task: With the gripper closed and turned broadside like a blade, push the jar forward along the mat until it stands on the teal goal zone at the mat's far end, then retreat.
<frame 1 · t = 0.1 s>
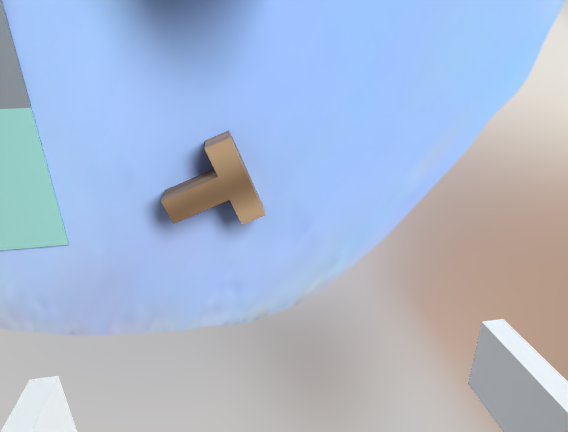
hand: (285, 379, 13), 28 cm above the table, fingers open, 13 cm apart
t block: (208, 184, 39), on the table
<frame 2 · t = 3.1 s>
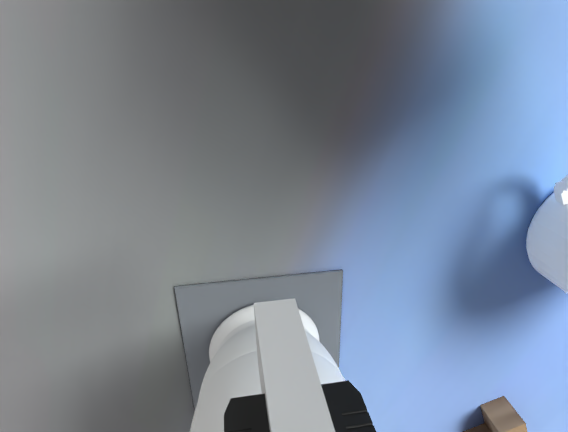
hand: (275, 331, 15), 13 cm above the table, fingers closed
jar: (264, 343, 31), resting on mat
mat: (267, 407, 34), on the table
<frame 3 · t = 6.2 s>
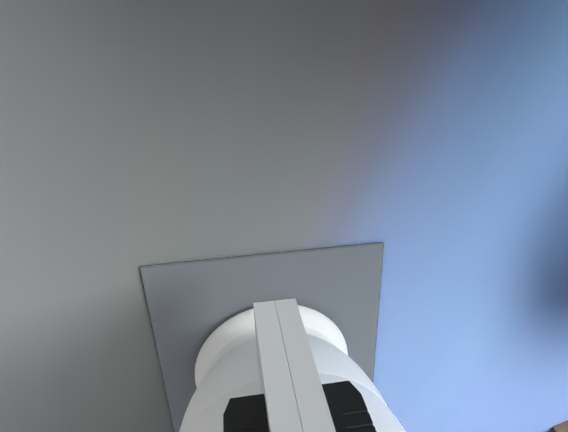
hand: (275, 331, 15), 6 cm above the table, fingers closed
jar: (271, 359, 22), resting on mat, touching gripper
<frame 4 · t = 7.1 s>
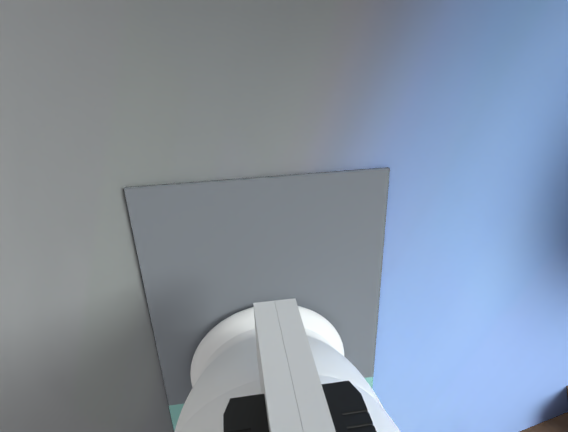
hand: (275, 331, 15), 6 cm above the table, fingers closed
jar: (267, 359, 22), resting on mat, touching gripper
t block: (549, 429, 29), on the table
mat: (273, 388, 23), on the table
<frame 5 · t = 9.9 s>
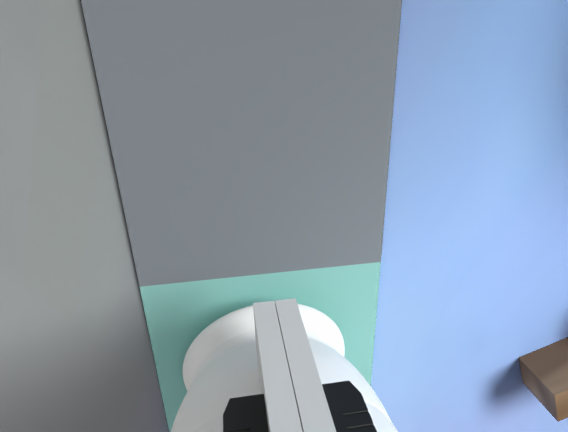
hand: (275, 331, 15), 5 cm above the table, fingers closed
jar: (264, 354, 21), point 1 cm above the table, touching gripper, mat
mat: (264, 271, 20), on the table
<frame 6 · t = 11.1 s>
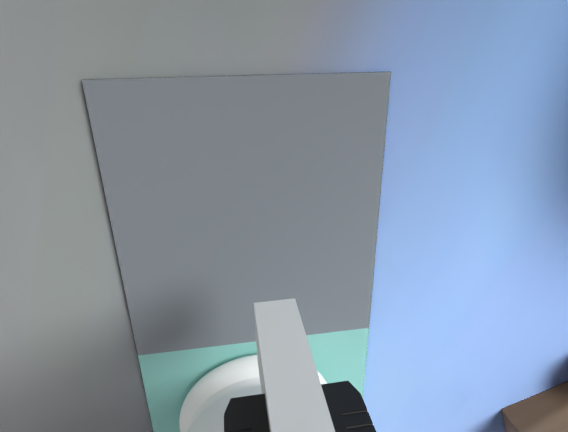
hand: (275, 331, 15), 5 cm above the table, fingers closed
jar: (256, 405, 23), resting on mat
t block: (558, 397, 27), on the table
mat: (257, 338, 21), on the table
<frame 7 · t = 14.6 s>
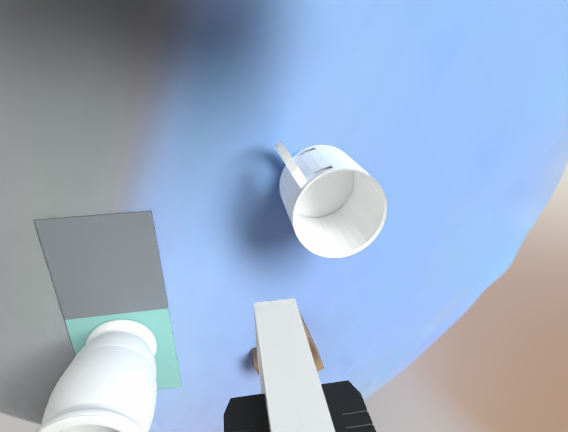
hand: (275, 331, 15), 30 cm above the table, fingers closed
mug: (311, 172, 45), on the table
jar: (122, 344, 50), resting on mat
t block: (282, 343, 54), on the table
mat: (117, 313, 48), on the table
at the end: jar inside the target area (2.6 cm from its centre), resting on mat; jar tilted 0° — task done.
